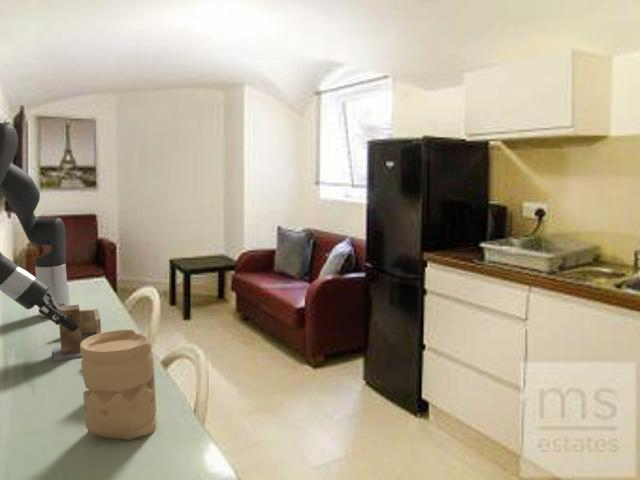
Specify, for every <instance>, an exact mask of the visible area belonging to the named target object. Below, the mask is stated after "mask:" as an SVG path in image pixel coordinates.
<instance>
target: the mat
mask: <svg viewBox="0 0 640 480" xmlns="http://www.w3.org/2000/svg"><path fill="white" fill-rule="evenodd" d="M77 358H79V359H80V358H83V357H82V355H81V353H75V354H68V355H62V353H61V346H60V347H54V348H53V362H57V361H64V360H72V359H77Z"/></svg>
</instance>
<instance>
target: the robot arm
mask: <svg viewBox="0 0 640 480" xmlns="http://www.w3.org/2000/svg"><path fill="white" fill-rule="evenodd" d="M18 145H19V136H18V133H17V130H16V128H15V127H14V126H13V125H12V124H10V123H5V122H0V193H1V194H2V196H3V198H4V199H5V201H6V202H7V204H8V205H9V206H10V208H11V210H12V211H13V213H14V214H15V215H16V217H17V219H18V221H19V223H20V226H21V227H22V230H23V232H24V233H25V236H26V239H28V241H29V242H30V243H31V244H32V245H35V246H50V250H49V251H47V252H46V253H44V254H41V255H39V256H36V257H35V258H34V265H35V267H34V268H35V275H33V274H32V273H30V272H29V271H28V270H26V269H24V268H23V267H20V266H19V265H18V264H16V263H15V262H14V261H12V260H11V259H10V258H8V257H7V256H5V255H3V253H2V252H1V251H0V291H1V292H2V293H3V294H5V296H7V297H9V298H10V299H12V301H14V302H16V303H17V304H19V305H20V306H21V307H23V308H24V309H25V310H31V309H33V308H34V307H35V306H37V308H38V315H39V317H40V318H47V319H48V320H49V321H51V322H53V323H54V324H55V325H57V326H59V324H60V325H63V326H64V327H66V328H67V329H69V330H70V331H71V332H74V331H75V330H76V329H77V328H78V324H77V323H75V322H74V321H72V320H71V319H69V318H68V317H67V316H66V315H65V314H64V313H63V310H62V309H61V308H60V307H62V306H71V303H70V302H71V301H70V291H69V284H68V278H67V264H66V263H67V262H66V254H67V251H66V250H67V249H66V227H65V226H66V225H65V223H64V220H63V219H62V218H60V217H38V216H36V215H35V211H36V210H37V209H36V208H37V207H38V204H39V202H40V198H41V193H40V191H39V188H38V186H37V185H36V183H35V180H33V177H31V175H30V174H28V173H27V172H26V171H25V170H23V169H22V168H20V167H19V166H18V165H15V164H13V163H12V162H13V160H14V158H15V156H16V153H17V151H18ZM59 316H60V317H59Z"/></svg>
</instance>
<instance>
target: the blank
mask: <svg viewBox="0 0 640 480" xmlns="http://www.w3.org/2000/svg"><path fill="white" fill-rule="evenodd" d="M60 308H61V309H62V310H63V313H64V314H65V315H66V316H67V317H68V318H69V319H71V320H72V321H74V322H75V323H77V324H78V328H77V329H76V330H75V331H74V332H71V331H70V330H69V329H67V328H66V327H64V326H63V325H60V324H59V325H58V327H59V337H60V347H61V353H62V355H68V354H75V353H80V343H81V342H82V341H83V340H82V334H81V325H80V311H79V310H80V304H70V306H62V307H60ZM59 317H60V316H58V318H59Z"/></svg>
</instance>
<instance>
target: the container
mask: <svg viewBox="0 0 640 480" xmlns="http://www.w3.org/2000/svg"><path fill="white" fill-rule="evenodd" d="M80 353H81V355H82V357H81V358H82V359H81V362H80V363H81V365H80V366H81V374H82V378H83V379H82V380H83V382H84V385H85V388H86V389H87V390H85V391H84V392H83V393H82V394H83V408H84V421H85V422H84V423H85V428H86V429H87V433H88V434H91V435H96V436H101V437H102V438H109V439H110V438H111V439H121V440H128V441H129V440H130V441H131V440H135V439H137V438H140V437H143V436H149V435H150V434H153V433H155V431H156V428H157V415H156V413H157V403H156V402H157V401H156V381H155V363H154V355H153V352H152V345H151V343H150V340H149V337H147V336H146V335H144V333H137V332H136V331H135V330H134V329H130V328H129V329H126V328H125V329H116V330H109V331H104V332H101V333H99V334H93V335H91V336H88V337H86V338H84V339H83V340H82V342H81V343H80Z"/></svg>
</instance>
